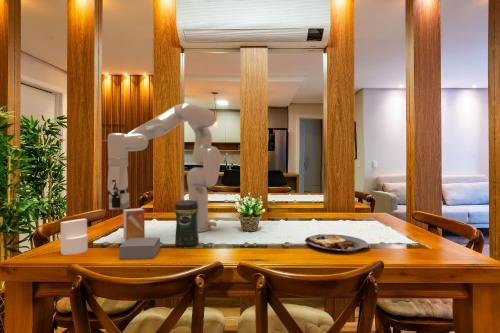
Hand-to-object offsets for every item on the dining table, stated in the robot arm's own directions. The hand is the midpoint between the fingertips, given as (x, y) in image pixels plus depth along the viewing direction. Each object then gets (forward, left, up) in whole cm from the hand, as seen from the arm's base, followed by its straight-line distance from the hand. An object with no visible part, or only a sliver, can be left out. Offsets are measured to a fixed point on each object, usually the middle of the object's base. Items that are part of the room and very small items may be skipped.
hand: (119, 205), depth 127 cm
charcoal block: (-13, +12, -17) cm, 24 cm away
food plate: (-90, +3, -17) cm, 91 cm away
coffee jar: (-28, -1, -17) cm, 32 cm away
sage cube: (0, 0, -1) cm, 1 cm away
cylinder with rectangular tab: (+14, +8, -17) cm, 23 cm away
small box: (-2, -12, -17) cm, 21 cm away
